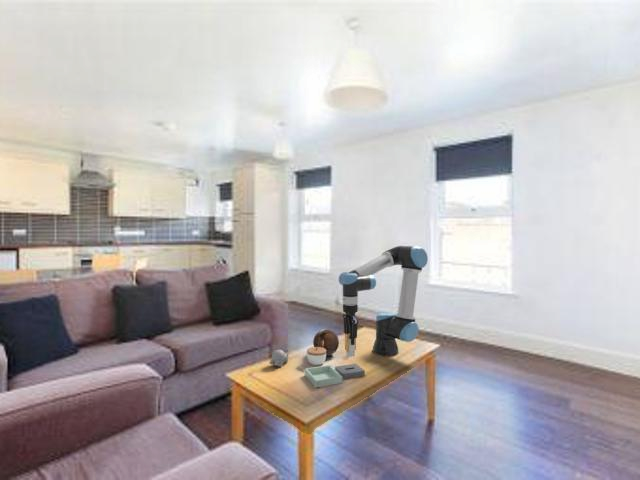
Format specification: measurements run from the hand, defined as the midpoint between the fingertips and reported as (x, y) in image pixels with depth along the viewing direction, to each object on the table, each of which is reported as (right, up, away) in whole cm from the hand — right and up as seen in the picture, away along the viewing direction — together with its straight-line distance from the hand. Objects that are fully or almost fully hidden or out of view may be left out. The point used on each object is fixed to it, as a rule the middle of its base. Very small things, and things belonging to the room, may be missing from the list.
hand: (350, 349), depth 184 cm
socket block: (0, -13, 0) cm, 13 cm away
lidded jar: (-17, -12, +14) cm, 26 cm away
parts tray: (-14, -13, -6) cm, 20 cm away
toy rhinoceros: (-37, -12, +12) cm, 41 cm away
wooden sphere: (-12, -12, +28) cm, 33 cm away
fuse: (0, -4, 0) cm, 4 cm away
